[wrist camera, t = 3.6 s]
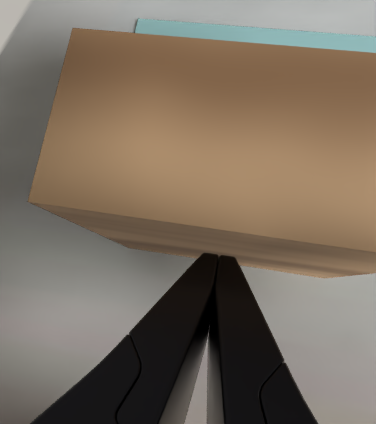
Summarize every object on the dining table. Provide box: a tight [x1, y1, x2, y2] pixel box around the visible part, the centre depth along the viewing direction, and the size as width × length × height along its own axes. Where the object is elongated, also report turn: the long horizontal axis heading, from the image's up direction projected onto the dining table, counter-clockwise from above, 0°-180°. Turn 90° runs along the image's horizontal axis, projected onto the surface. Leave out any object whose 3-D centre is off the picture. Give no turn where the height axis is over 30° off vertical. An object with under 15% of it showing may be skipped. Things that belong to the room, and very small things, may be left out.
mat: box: [135, 19, 376, 53], centre depth 20 cm, size 8×14×1 cm, turn 81°
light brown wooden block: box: [28, 28, 376, 278], centre depth 14 cm, size 5×10×10 cm, turn 81°
